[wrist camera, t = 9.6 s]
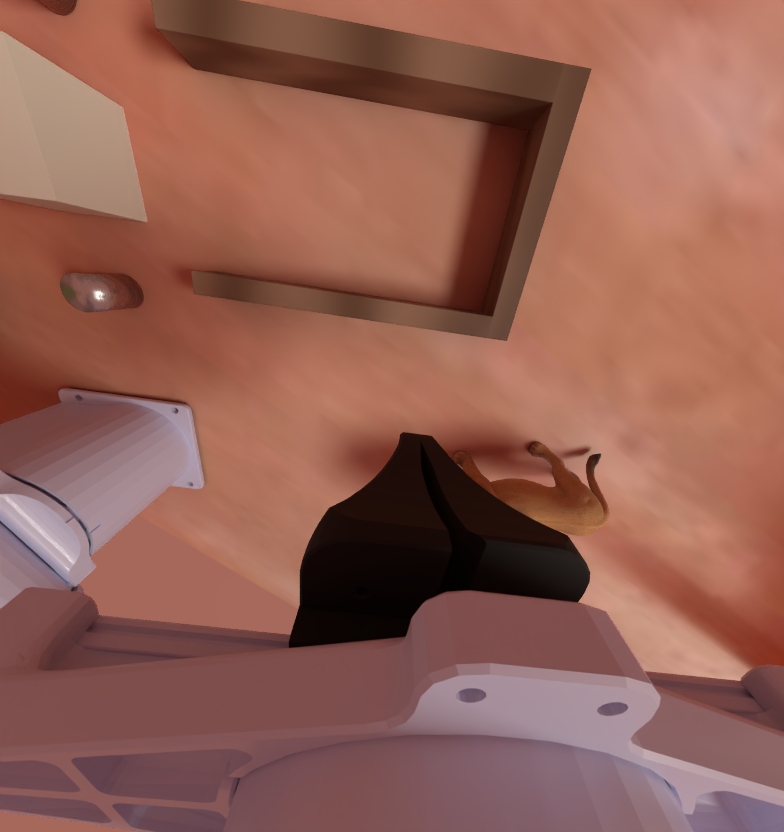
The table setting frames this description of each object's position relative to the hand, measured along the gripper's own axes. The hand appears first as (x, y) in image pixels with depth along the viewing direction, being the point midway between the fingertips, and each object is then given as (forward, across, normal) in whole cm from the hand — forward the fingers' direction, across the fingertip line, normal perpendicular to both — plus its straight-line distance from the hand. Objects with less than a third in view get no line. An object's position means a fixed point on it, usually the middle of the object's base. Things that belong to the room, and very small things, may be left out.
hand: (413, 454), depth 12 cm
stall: (+9, +4, -10) cm, 14 cm away
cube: (+10, +19, -10) cm, 24 cm away
